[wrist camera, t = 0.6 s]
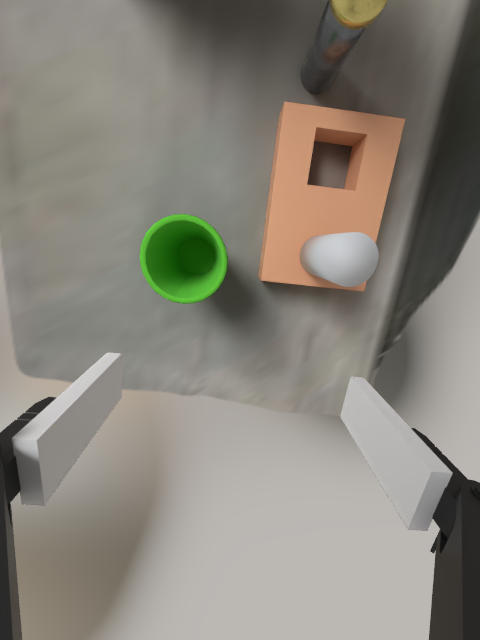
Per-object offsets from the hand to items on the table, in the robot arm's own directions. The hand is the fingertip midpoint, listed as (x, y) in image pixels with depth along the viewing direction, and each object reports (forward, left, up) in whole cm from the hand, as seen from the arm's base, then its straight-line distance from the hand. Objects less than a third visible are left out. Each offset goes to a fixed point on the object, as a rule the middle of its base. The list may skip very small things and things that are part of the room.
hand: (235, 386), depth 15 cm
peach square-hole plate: (-13, +10, -26) cm, 31 cm away
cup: (-6, -6, -26) cm, 27 cm away
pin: (-29, +7, -26) cm, 39 cm away
